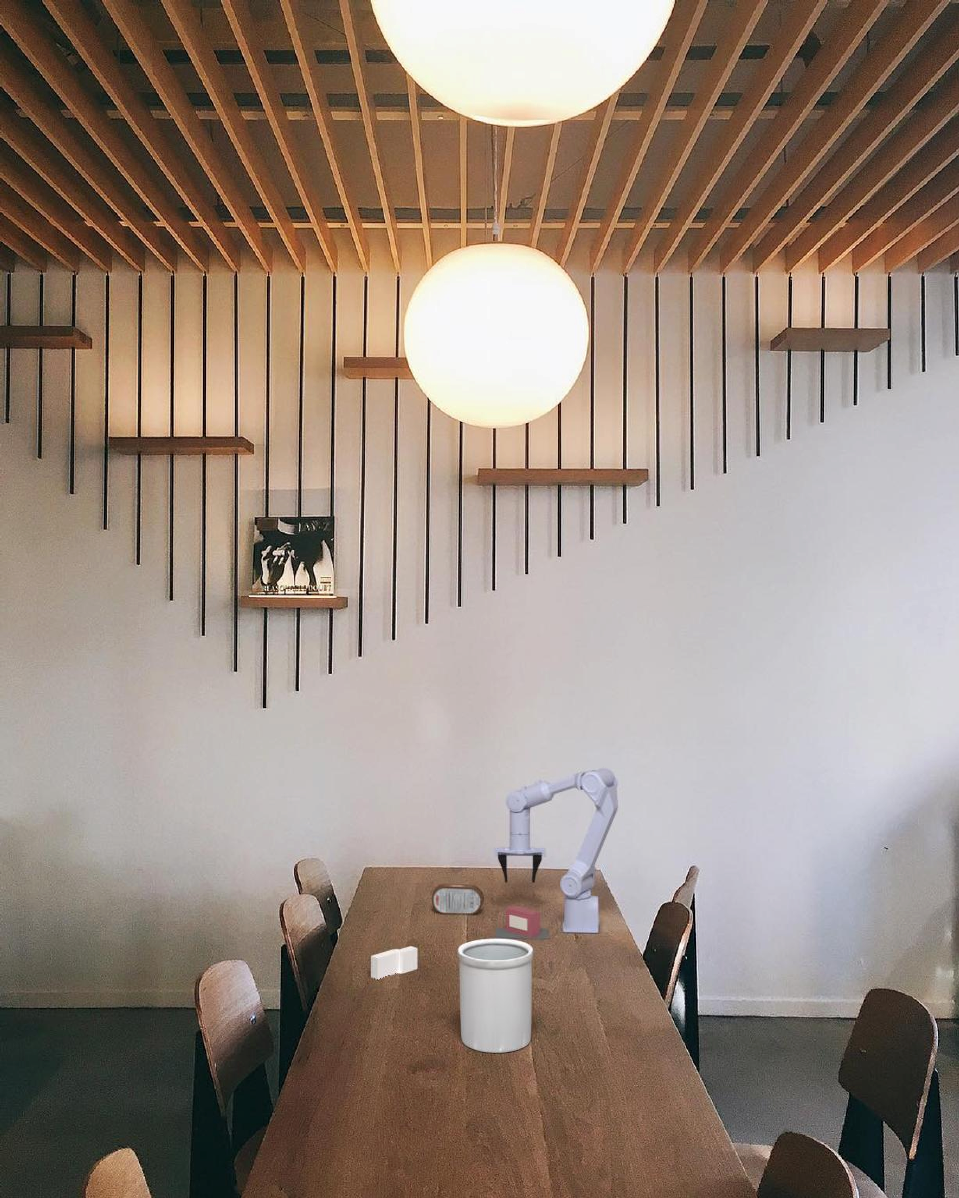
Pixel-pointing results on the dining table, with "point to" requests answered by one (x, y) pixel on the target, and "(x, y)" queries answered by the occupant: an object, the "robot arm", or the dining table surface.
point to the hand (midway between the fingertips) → (519, 881)
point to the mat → (505, 934)
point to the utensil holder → (495, 994)
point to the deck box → (523, 921)
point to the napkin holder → (393, 962)
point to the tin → (457, 899)
